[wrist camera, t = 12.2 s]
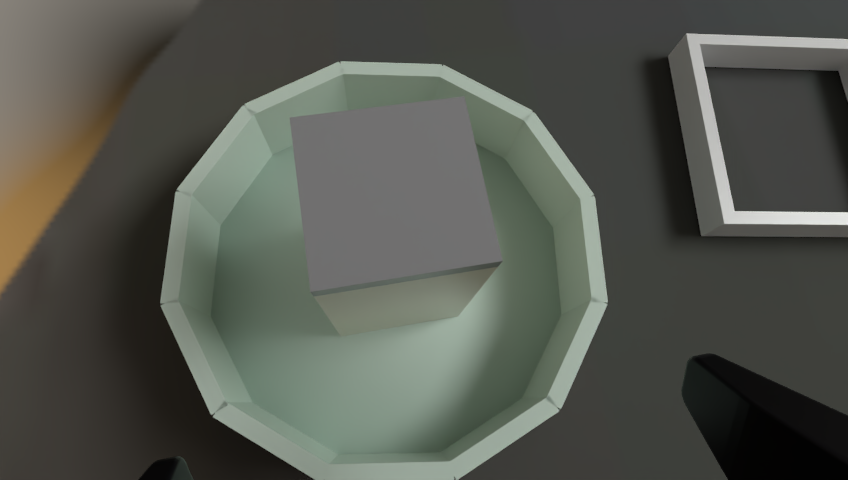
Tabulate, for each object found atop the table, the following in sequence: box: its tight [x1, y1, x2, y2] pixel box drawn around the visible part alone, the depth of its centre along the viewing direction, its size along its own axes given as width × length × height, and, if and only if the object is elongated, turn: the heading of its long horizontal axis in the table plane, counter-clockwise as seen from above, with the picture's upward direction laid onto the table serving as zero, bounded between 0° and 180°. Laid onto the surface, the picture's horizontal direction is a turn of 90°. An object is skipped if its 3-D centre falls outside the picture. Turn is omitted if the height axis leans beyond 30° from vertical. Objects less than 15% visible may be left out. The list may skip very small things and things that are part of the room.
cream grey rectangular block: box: [290, 96, 503, 336], centre depth 18 cm, size 5×5×9 cm
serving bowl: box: [160, 61, 608, 480], centre depth 21 cm, size 16×16×4 cm
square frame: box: [668, 34, 848, 237], centre depth 26 cm, size 10×10×2 cm
